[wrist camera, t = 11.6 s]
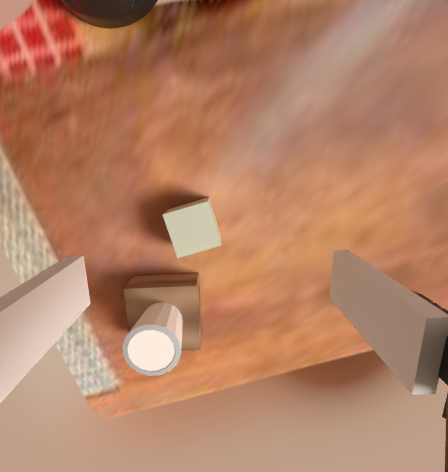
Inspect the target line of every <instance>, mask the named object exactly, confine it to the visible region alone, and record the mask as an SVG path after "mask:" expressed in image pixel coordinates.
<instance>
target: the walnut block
mask: <svg viewBox="0 0 448 472" xmlns="http://www.w3.org/2000/svg"><path fill="white" fill-rule="evenodd" d="M124 297H125V305H126V313H127V321H128V329H129V332H130V331H131V329H132V328H133V327H134V325H135V324H136V323H137V321H138V320H139V319H140V317H141V316H142V315H143V313H144V312H145V311H146V310H147V308H148V307H149V306H151V305H153V304H155V303H158V302H166V303H169V304H172V305H174V306H175V307H176V308H177V309H179V311H180V313H181V315H182V321H183V325H182V345H181V351H182V350H200V347H201V336H202V321H201V305H200V288H199V273H185V274H162V275H139V276H133V278H132V279H131V280H130V281H129V283H128V284H127V285H126V286H125V288H124Z"/></svg>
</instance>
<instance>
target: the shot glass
mask: <svg viewBox="0 0 448 472" xmlns="http://www.w3.org/2000/svg"><path fill="white" fill-rule="evenodd" d="M182 325H183V321H182V315H181V313H180V311H179V309H177V308H176V307H175V306H174V305H172V304H169V303H166V302H158V303H155V304H153V305H151V306H149V307H148V308H147V310H146V311H145V312H144V313H143V315H142V316H141V317H140V319H139V320H138V321H137V323H136V324H135V325H134V327H133V328H132V329H131V331H130V332H129V333H128V335H127V336H126V337H125V340H124V343H123V347H122V349H123V356H124V359H125V360H126V362H127V363H128V365H129V366H130V367H131V368H132V369H134V370H135V371H137V372H138V373H141V374H145V375H148V376H153V375H162V374H164V373H166V372H169V371H171V370H172V369H173V368H174V367H175V366H176V365H177V363H178V361H179V358H180V356H181V345H182Z"/></svg>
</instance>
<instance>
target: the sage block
mask: <svg viewBox="0 0 448 472" xmlns="http://www.w3.org/2000/svg"><path fill="white" fill-rule="evenodd" d="M163 218H164V221H165V224H166V226H167V229H168V232H169V235H170V238H171V241H172V244H173V247H174V249H175V252H176V255H177V258H180V257H183V256H187V255H190V254H194V253H197V252H201V251H204V250H207V249H211V248H214V247H218V246H221V235H220V232H219V228H218V225H217V222H216V219H215V215H214V212H213V209H212V205H211V202H210V199H209V197H208V198H204V199H201V200H198V201H194V202H191V203H188V204H184V205H181V206H178V207H174V208H171V209H169V210H168V211H166V212H165V213H164V214H163Z"/></svg>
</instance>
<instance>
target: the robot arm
mask: <svg viewBox="0 0 448 472" xmlns="http://www.w3.org/2000/svg"><path fill="white" fill-rule="evenodd" d="M60 1H61V2H62V3H63V5H64V6H65V7H66V8H67V9H68V10H69V11H71V12H72V13H73V14H74V15H76V16H77V17H78V18H80V19H82V20H83V21H85V22H87V23H90V24H92V25H95V26H99V27H105V28H118V27H124V26H127V25H130V24H132V23H135V22H136V21H138V20H140V19H141V18H143V17H144V16H145V15H146V14H147V13H148V12H149V11H150V10H151V9H152V8H153V7H154V5H155V4H156V2H157V1H158V0H60ZM330 299H331V300H332V301H333V302H334V304H335V305H336V306H337V307H338V308H339V309H340V311H341V312H342V313H343V314H344V315H345V316H346V318H347V319H348V320H349V321H350V322H351V324H352V325H353V326H354V327H355V328H356V329H357V331H358V332H359V333H360V334H361V335H362V336H363V338H364V339H365V340H366V341H367V342H368V343H369V345H370V346H371V347H372V348H373V349H374V351H375V352H376V353H377V354H378V355H379V356H380V358H381V359H382V360H383V361H384V362H385V363H386V365H387V366H388V367H389V368H390V369H391V370H392V372H393V373H394V374H395V375H396V376H397V378H398V379H399V380H400V381H401V382H402V383H403V385H404V386H405V387H406V388H407V389H408V390H409V392H410V393H411V394H435V393H436V389H437V384H438V379H439V377H440V378H441V379H442V380H443V381H444V382H445V383H446V384H447V385H448V311H447V310H445V309H444V308H441V306H439V305H438V304H436V303H433V301H431V300H430V299H428V298H426V297H425V296H423V295H421V294H419V293H416V292H414V291H411V290H409V289H408V288H406V287H405V286H403V285H402V284H400V283H398V282H397V281H395V280H394V279H392V278H391V277H389V276H388V275H386V274H384V273H383V272H381V271H380V270H378V269H377V268H375V267H374V266H372V265H371V264H369V263H367V262H366V261H364V260H363V259H361V258H360V257H358V256H357V255H355V254H354V253H352V252H350V251H349V250H334V256H333V267H332V278H331V289H330ZM90 304H91V303H90V296H89V290H88V283H87V276H86V269H85V263H84V256H83V255H79V256H67V257H66V258H64V259H62V260H61V261H59V262H57V263H56V264H54V265H53V266H51V267H49V268H48V269H46V270H44V271H43V272H41V273H40V274H38V275H36V276H35V277H33V278H31V279H30V280H28V281H26V282H25V283H23V284H22V285H20V286H18V287H17V288H15V289H14V290H12V291H10V292H9V293H7V294H5V295H4V296H2V297H0V403H1V402H2V401H3V400H4V398H5V397H6V396H7V395H8V394H9V393H10V392H11V391H12V390H13V389H14V387H15V386H16V385H17V384H18V383H19V382H20V381H21V380H22V379H23V377H24V376H25V375H26V374H27V373H28V372H29V371H30V370H31V369H32V368H33V366H34V365H35V364H36V363H37V362H38V361H39V360H40V359H41V358H42V357H43V355H44V354H45V353H46V352H47V351H48V350H49V349H50V348H51V347H52V346H53V344H54V343H55V342H56V341H57V340H58V339H59V338H60V337H61V336H62V335H63V333H64V332H65V331H66V330H67V329H68V328H69V327H70V326H71V325H72V323H73V322H74V321H75V320H76V319H77V318H78V317H79V316H80V315H81V314H82V312H83V311H84V310H85V309H86V308H87V307H88V306H89V305H90ZM442 417H444V418H446V447H445V472H448V394H447V398H446V403H445V407H444V411H443V415H442Z"/></svg>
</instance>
